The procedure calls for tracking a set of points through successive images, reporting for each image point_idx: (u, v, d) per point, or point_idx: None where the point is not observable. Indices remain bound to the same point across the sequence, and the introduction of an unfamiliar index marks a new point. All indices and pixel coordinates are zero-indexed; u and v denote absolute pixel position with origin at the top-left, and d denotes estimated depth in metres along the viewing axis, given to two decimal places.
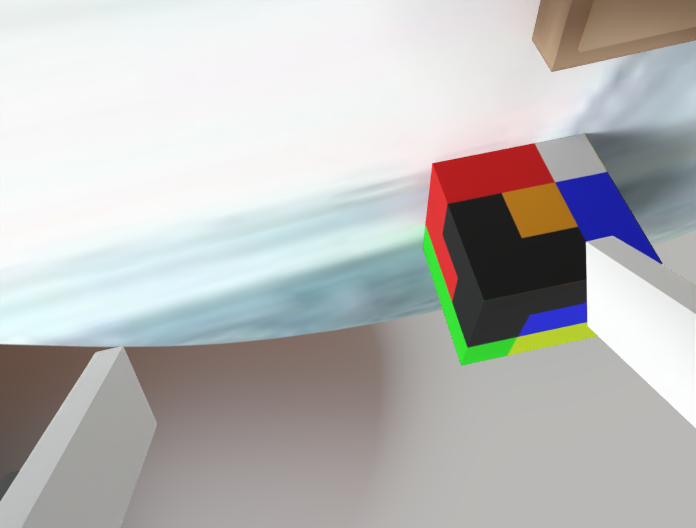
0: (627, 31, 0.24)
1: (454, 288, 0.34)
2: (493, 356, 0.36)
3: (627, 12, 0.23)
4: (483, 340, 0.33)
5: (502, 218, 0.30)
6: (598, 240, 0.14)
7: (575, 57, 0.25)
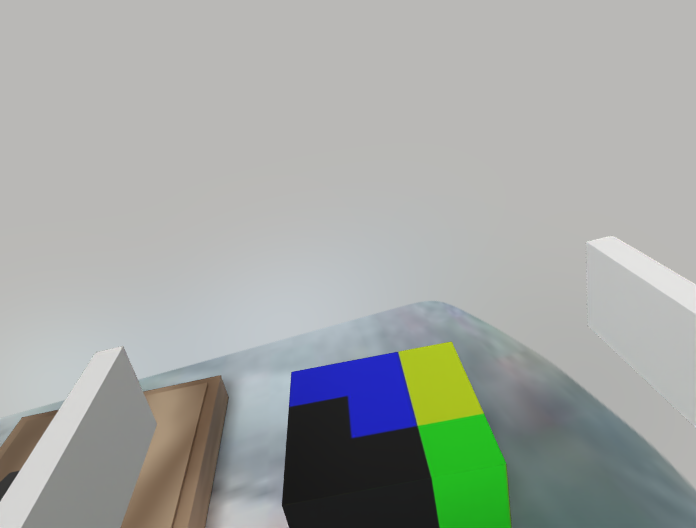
0: (165, 516, 0.33)
1: None
2: (480, 430, 0.25)
3: (147, 525, 0.33)
4: (411, 464, 0.24)
5: None
6: (598, 240, 0.14)
7: None
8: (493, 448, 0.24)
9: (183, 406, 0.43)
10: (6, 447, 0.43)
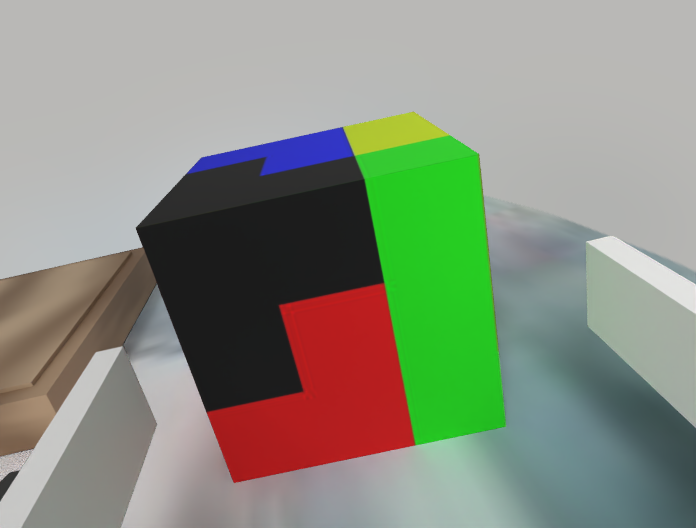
0: (38, 359, 0.25)
1: (327, 297, 0.16)
2: (443, 143, 0.17)
3: (13, 368, 0.24)
4: (337, 176, 0.16)
5: None
6: (598, 240, 0.14)
7: (43, 383, 0.23)
8: (460, 149, 0.16)
9: (96, 271, 0.35)
10: None
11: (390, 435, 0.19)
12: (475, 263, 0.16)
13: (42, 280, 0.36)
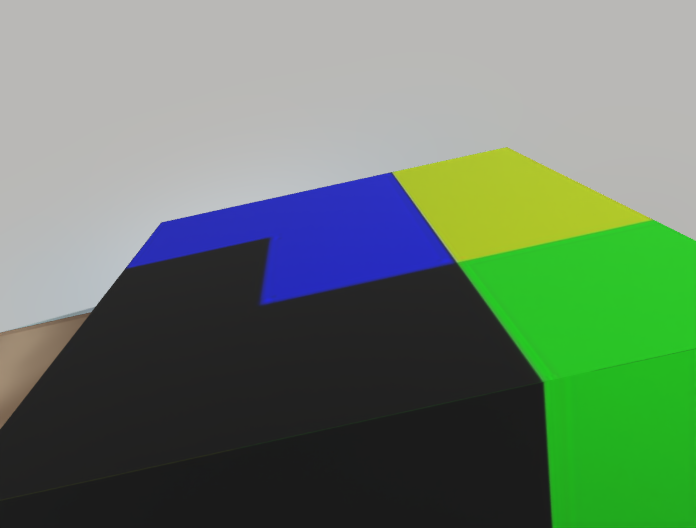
0: None
1: None
2: (664, 249, 0.08)
3: None
4: (453, 348, 0.06)
5: None
6: None
7: None
8: None
9: (41, 348, 0.26)
10: None
11: None
12: None
13: None
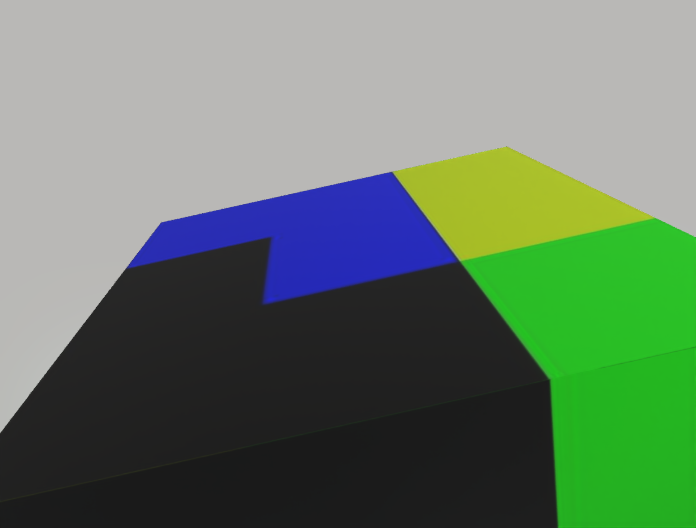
0: None
1: None
2: (668, 247, 0.08)
3: None
4: (458, 347, 0.06)
5: None
6: None
7: None
8: None
9: None
10: None
11: None
12: None
13: None
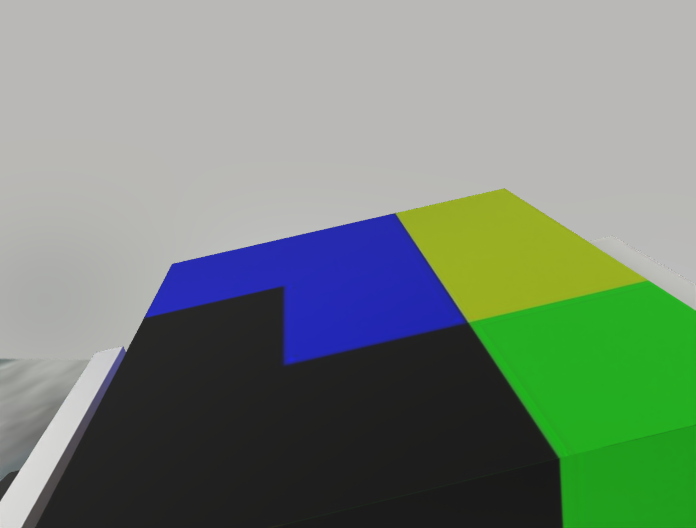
0: None
1: None
2: (661, 315, 0.08)
3: None
4: (473, 420, 0.07)
5: None
6: (598, 240, 0.14)
7: None
8: None
9: None
10: None
11: None
12: None
13: None
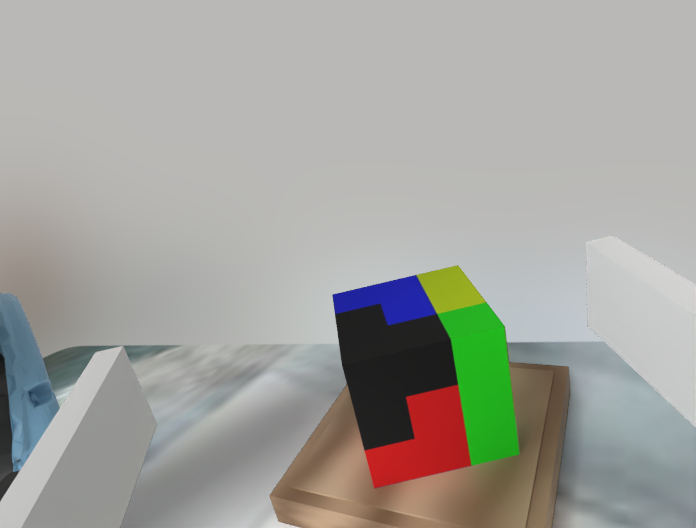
0: (518, 507, 0.31)
1: (430, 392, 0.33)
2: (484, 311, 0.33)
3: (499, 509, 0.32)
4: (435, 334, 0.32)
5: None
6: (598, 240, 0.14)
7: None
8: (494, 319, 0.32)
9: (528, 389, 0.41)
10: None
11: (458, 460, 0.35)
12: (503, 374, 0.33)
13: None
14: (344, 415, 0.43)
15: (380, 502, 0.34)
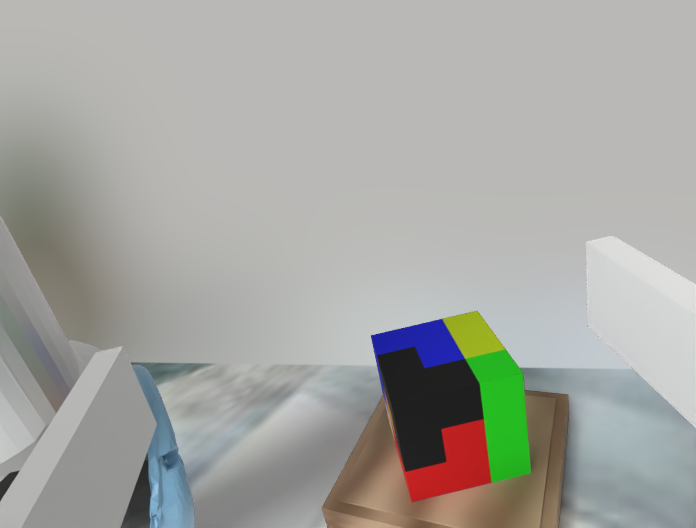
0: (532, 518, 0.39)
1: (460, 425, 0.40)
2: (504, 358, 0.41)
3: (517, 520, 0.39)
4: (466, 378, 0.39)
5: (394, 429, 0.43)
6: (598, 240, 0.14)
7: None
8: (514, 366, 0.40)
9: (535, 415, 0.48)
10: None
11: (481, 478, 0.42)
12: (520, 410, 0.40)
13: None
14: (378, 436, 0.50)
15: (418, 514, 0.41)
